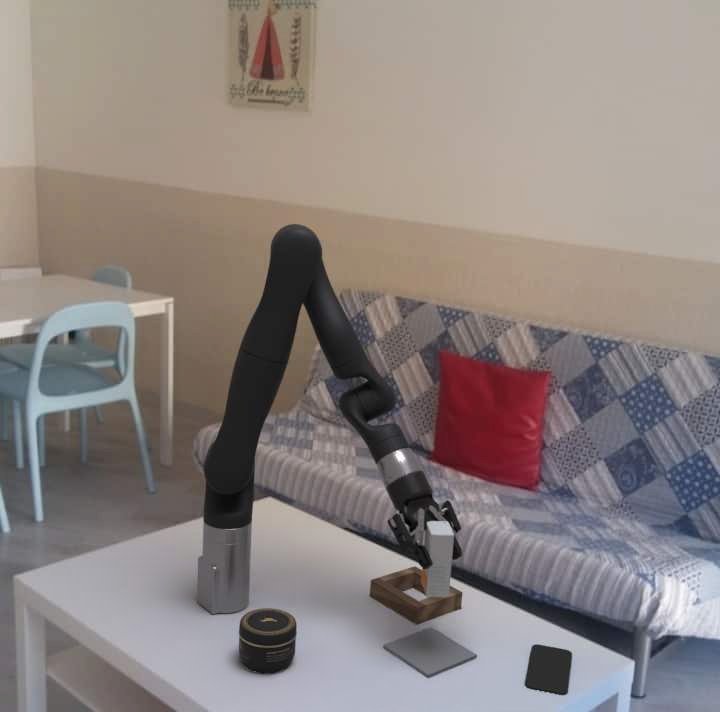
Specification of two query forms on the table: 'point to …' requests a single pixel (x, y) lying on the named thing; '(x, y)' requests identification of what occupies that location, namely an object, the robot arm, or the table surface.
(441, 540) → the skincare box
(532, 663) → the phone
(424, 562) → the robot arm
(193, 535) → the table surface
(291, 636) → the jar
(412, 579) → the brown wooden rectangular frame
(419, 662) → the rubber mat
